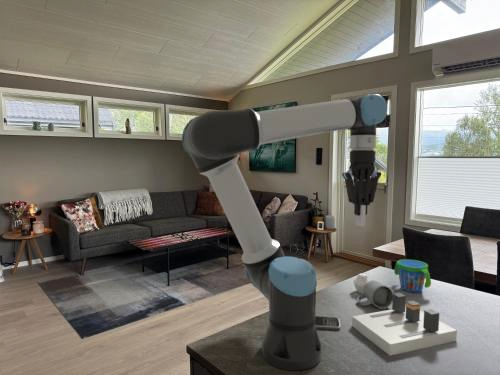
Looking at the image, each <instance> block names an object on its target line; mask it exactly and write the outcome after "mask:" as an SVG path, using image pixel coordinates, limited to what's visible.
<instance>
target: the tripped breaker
mask: <svg viewBox="0 0 500 375" xmlns="http://www.w3.org/2000/svg"><path fill="white" fill-rule="evenodd" d="M405 307H406V319H407V320H409V321H411V322H412V323H413V322H418V321H419V319H420V311H421V304H420V303H419V302H417V301H415V300H409V301H406V303H405Z"/></svg>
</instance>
